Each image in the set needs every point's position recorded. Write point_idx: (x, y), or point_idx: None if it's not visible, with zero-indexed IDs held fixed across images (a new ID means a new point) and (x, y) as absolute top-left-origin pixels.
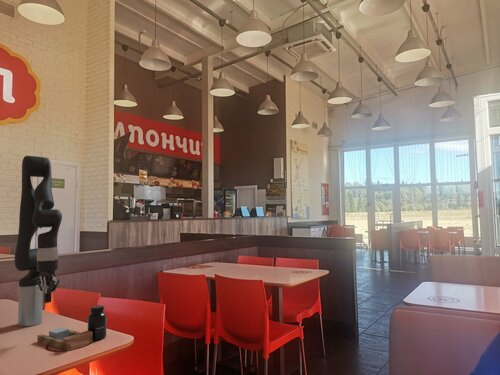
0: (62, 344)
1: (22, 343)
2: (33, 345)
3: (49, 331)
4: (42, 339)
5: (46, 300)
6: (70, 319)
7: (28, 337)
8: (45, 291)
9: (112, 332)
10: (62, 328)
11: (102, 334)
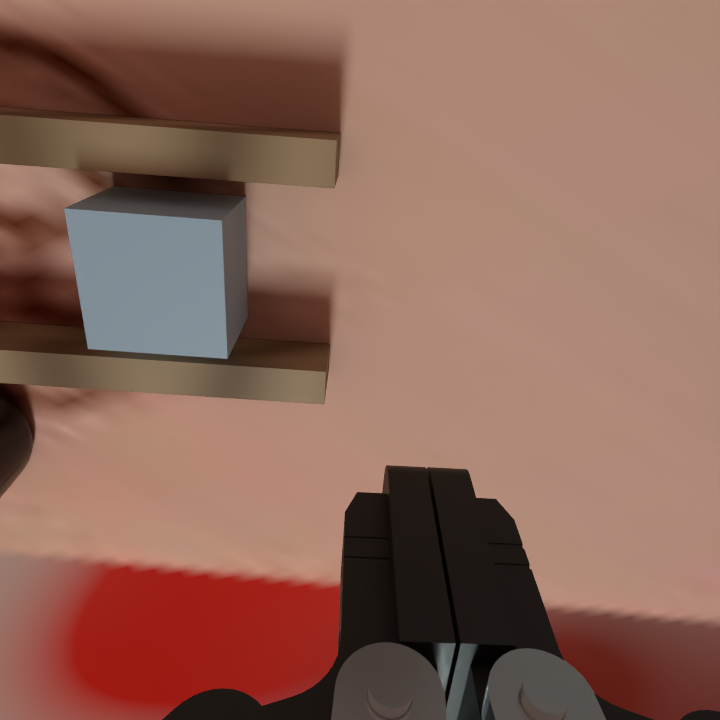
0: None
1: (452, 22)
2: (270, 40)
3: (210, 218)
4: (231, 129)
5: (388, 504)
6: (613, 604)
7: (568, 179)
8: (415, 716)
9: (2, 535)
10: (182, 341)
11: None
